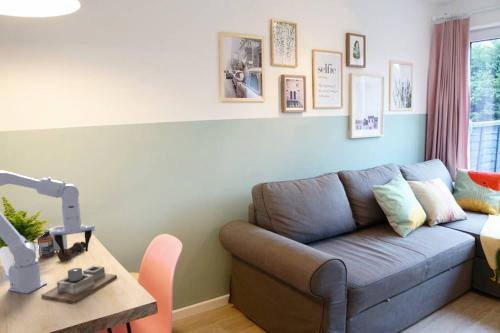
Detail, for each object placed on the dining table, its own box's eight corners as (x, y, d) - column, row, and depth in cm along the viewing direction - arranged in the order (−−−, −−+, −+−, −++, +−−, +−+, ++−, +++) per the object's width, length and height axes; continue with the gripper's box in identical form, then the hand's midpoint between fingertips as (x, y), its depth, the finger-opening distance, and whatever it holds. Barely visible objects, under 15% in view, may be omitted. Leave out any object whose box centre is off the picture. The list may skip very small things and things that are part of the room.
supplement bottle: (43, 254, 165) (40, 229, 163) (57, 253, 165) (54, 228, 164) (36, 259, 159) (33, 233, 157) (51, 258, 159) (48, 232, 158)
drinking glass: (71, 248, 171) (69, 227, 169) (57, 253, 165) (55, 231, 164) (63, 246, 174) (61, 225, 173) (49, 250, 169) (46, 229, 167)
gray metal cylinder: (66, 288, 127) (64, 272, 127) (77, 283, 131) (75, 267, 131) (75, 291, 126) (74, 274, 125) (86, 285, 130) (84, 268, 129)
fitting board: (41, 297, 124) (40, 286, 123) (86, 273, 142) (86, 263, 142) (74, 303, 119) (73, 291, 119) (116, 277, 138) (116, 267, 137)
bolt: (85, 252, 170) (65, 264, 156) (76, 247, 171) (55, 258, 156) (91, 241, 169) (71, 252, 155) (81, 236, 170) (60, 246, 155)
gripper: (48, 222, 130) (52, 259, 132) (93, 216, 136) (97, 252, 138) (49, 217, 136) (53, 253, 138) (92, 212, 142) (96, 246, 144)
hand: (75, 252), depth 138 cm, fingers open, 7 cm apart
